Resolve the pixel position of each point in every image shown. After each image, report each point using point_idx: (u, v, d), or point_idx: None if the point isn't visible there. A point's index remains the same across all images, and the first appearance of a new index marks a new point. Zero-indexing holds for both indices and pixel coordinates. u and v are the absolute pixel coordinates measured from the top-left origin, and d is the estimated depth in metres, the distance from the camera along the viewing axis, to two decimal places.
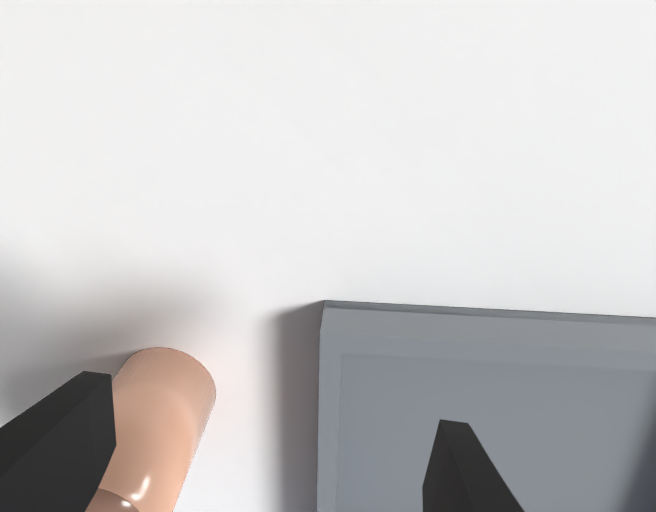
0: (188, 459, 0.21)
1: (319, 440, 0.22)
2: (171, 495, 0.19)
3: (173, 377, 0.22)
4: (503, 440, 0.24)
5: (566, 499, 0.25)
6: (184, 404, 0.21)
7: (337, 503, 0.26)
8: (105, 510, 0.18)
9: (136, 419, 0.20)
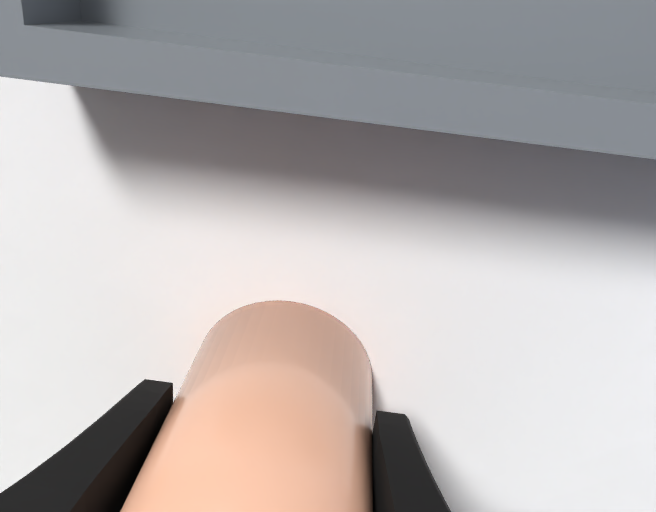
0: (257, 423, 0.09)
1: (305, 111, 0.08)
2: None
3: (188, 374, 0.12)
4: None
5: None
6: (201, 380, 0.11)
7: (636, 87, 0.10)
8: None
9: None
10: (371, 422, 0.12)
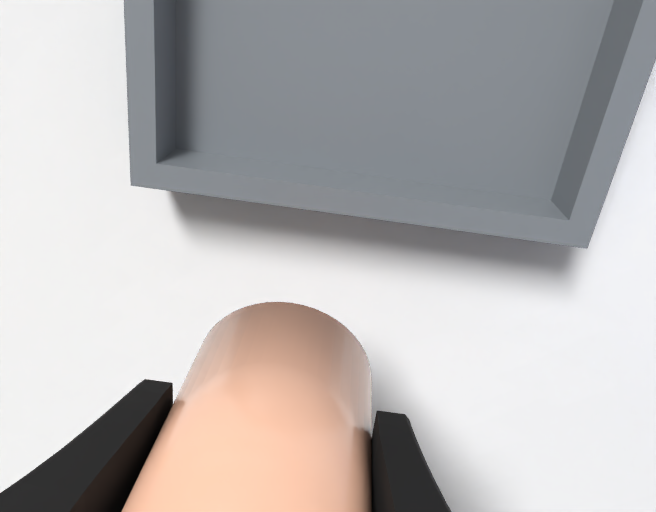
0: (257, 425, 0.09)
1: (297, 206, 0.17)
2: None
3: (188, 376, 0.12)
4: None
5: None
6: (201, 382, 0.11)
7: (477, 188, 0.18)
8: None
9: None
10: (370, 423, 0.12)
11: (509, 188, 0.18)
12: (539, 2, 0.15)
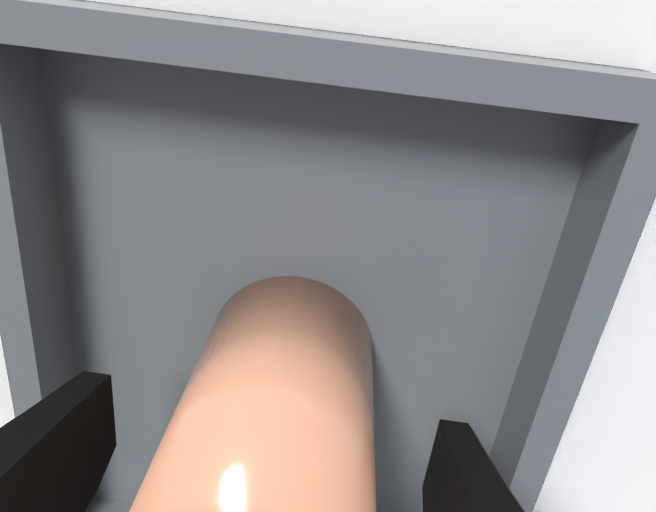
0: (276, 374, 0.10)
1: None
2: (246, 445, 0.09)
3: (208, 340, 0.13)
4: None
5: (400, 246, 0.14)
6: (223, 342, 0.12)
7: None
8: None
9: None
10: (372, 384, 0.13)
11: None
12: (432, 407, 0.16)
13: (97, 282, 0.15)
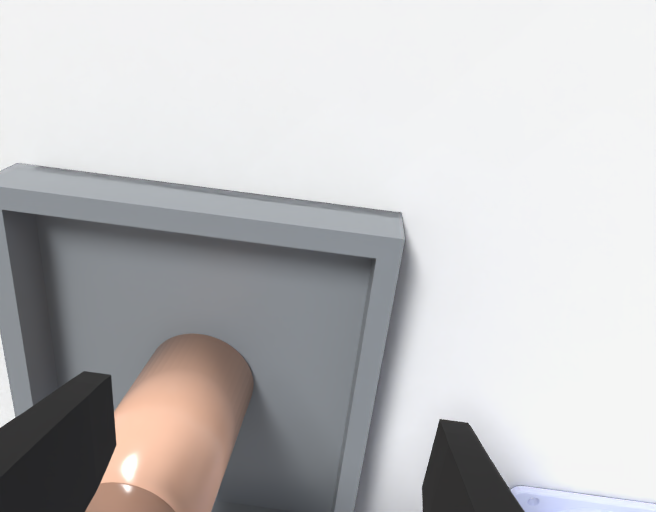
0: (166, 401, 0.18)
1: None
2: (136, 441, 0.16)
3: (139, 374, 0.21)
4: None
5: (264, 316, 0.21)
6: (144, 378, 0.19)
7: (279, 508, 0.26)
8: (103, 511, 0.16)
9: None
10: (241, 408, 0.21)
11: (300, 509, 0.25)
12: (298, 418, 0.23)
13: (71, 336, 0.22)
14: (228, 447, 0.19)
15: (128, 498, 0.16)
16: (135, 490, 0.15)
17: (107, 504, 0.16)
